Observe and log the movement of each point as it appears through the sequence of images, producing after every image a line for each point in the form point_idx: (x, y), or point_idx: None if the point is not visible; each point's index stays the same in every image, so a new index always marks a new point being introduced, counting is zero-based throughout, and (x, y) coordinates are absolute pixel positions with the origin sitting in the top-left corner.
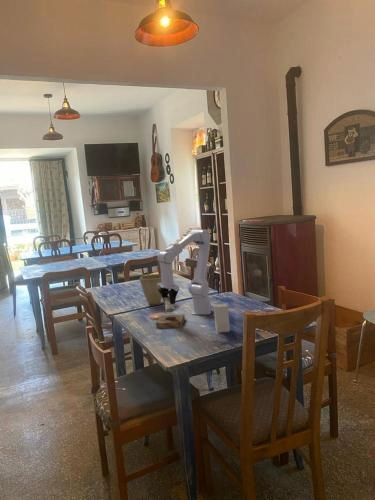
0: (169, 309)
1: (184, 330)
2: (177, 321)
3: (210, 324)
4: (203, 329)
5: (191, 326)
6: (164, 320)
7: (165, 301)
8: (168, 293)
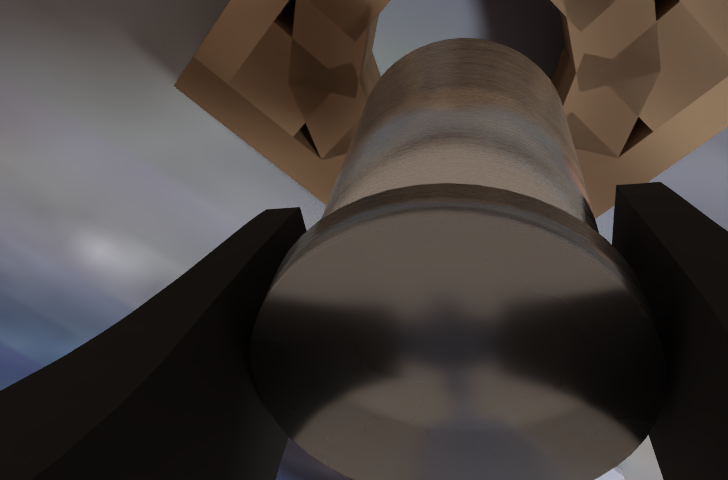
0: (365, 108)
1: (66, 21)
2: (239, 71)
3: (117, 317)
4: (4, 196)
5: (163, 168)
6: None
7: (443, 166)
8: (21, 467)
